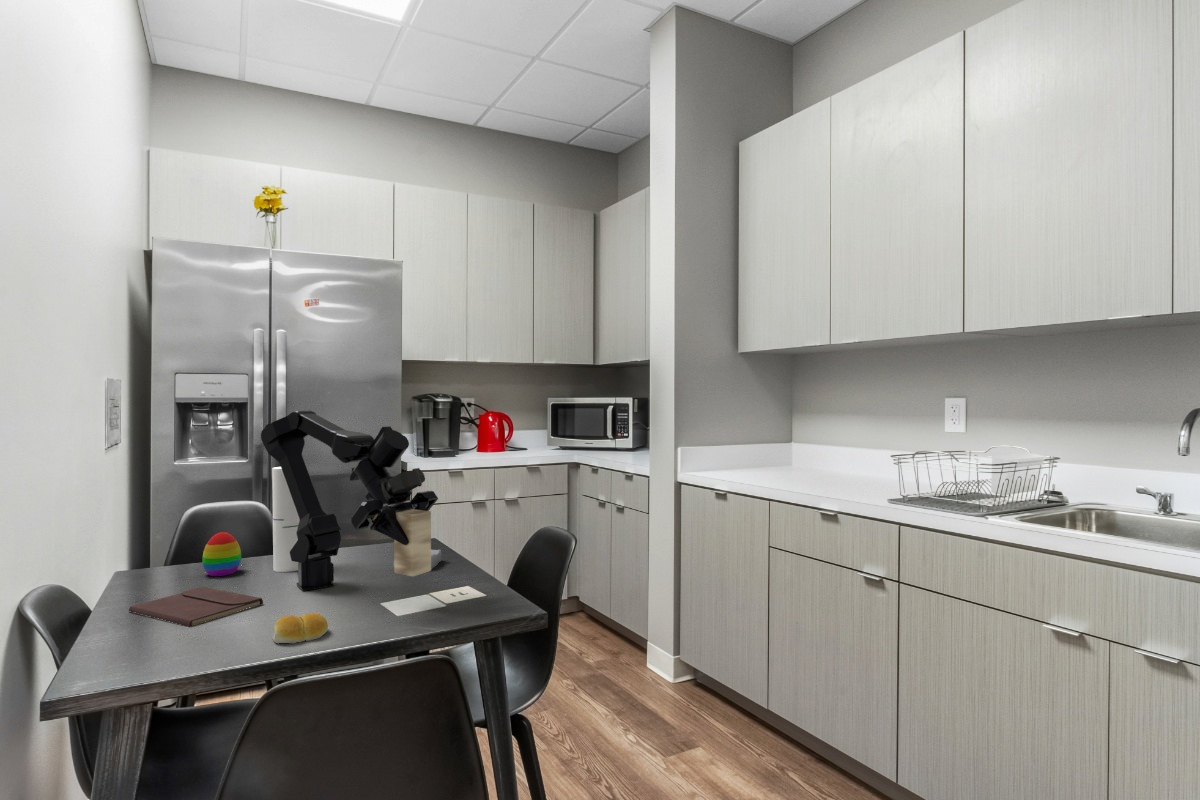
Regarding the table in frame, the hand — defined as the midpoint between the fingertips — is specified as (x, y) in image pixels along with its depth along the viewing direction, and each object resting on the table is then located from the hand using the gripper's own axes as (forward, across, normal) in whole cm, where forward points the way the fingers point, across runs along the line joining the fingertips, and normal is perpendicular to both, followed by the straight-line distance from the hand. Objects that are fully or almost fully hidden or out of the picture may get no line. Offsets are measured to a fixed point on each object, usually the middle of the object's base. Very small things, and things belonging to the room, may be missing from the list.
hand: (417, 541), depth 133 cm
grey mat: (+8, 0, +10) cm, 13 cm away
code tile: (+11, +10, +8) cm, 16 cm away
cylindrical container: (-26, +7, +46) cm, 54 cm away
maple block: (+4, 0, +5) cm, 6 cm away
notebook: (-17, -22, +38) cm, 47 cm away
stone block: (-8, +24, +27) cm, 37 cm away
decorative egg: (-34, -4, +53) cm, 63 cm away
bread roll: (+5, -22, +14) cm, 27 cm away
